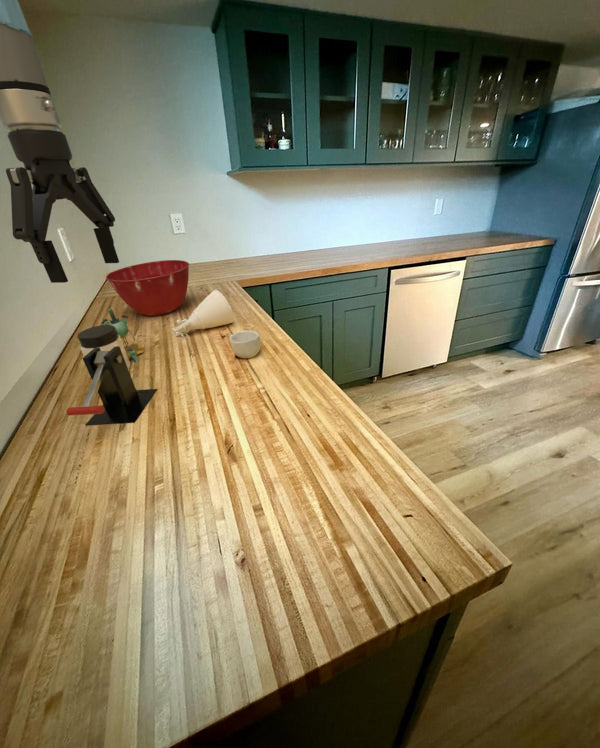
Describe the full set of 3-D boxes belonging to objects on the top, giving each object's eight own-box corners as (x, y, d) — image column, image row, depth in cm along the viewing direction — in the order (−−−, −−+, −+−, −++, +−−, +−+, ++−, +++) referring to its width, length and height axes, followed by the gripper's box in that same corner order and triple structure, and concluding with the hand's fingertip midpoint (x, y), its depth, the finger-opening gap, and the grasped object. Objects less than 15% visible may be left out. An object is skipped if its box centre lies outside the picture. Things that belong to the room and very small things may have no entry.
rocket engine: (161, 310, 96) (214, 283, 103) (164, 324, 107) (213, 299, 114) (184, 343, 96) (236, 313, 103) (185, 354, 107) (232, 327, 114)
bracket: (136, 427, 66) (111, 365, 59) (87, 429, 66) (56, 369, 59) (159, 393, 76) (139, 337, 69) (116, 395, 76) (92, 340, 69)
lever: (104, 416, 59) (97, 409, 57) (71, 418, 59) (63, 411, 57) (124, 357, 67) (118, 349, 65) (95, 359, 67) (88, 351, 65)
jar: (128, 380, 82) (110, 335, 76) (92, 386, 81) (71, 341, 75) (134, 363, 90) (118, 321, 84) (101, 369, 88) (83, 327, 82)
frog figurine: (109, 375, 85) (85, 318, 79) (111, 355, 101) (92, 306, 94) (148, 364, 89) (129, 309, 83) (145, 346, 104) (128, 299, 98)
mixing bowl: (153, 328, 112) (138, 282, 104) (104, 317, 125) (88, 275, 118) (213, 302, 132) (205, 261, 124) (165, 295, 146) (155, 258, 138)
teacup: (266, 356, 88) (263, 337, 85) (238, 364, 85) (234, 345, 82) (252, 343, 96) (250, 325, 93) (226, 350, 93) (223, 332, 90)
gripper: (-27, 118, 40) (51, 292, 51) (110, 135, 61) (144, 256, 72) (-75, 124, 41) (11, 292, 52) (75, 138, 62) (114, 257, 73)
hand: (88, 271), depth 62 cm, fingers open, 13 cm apart
